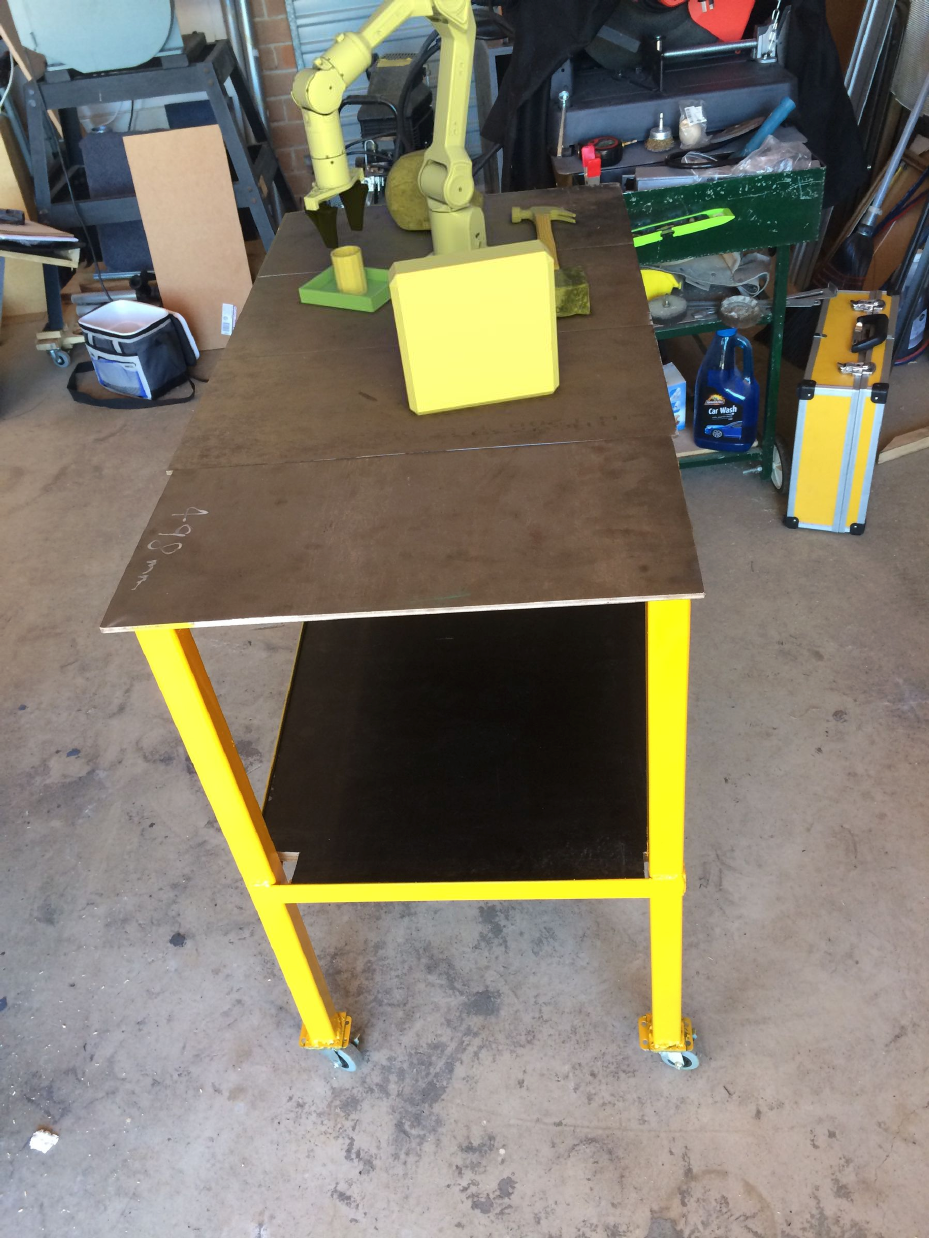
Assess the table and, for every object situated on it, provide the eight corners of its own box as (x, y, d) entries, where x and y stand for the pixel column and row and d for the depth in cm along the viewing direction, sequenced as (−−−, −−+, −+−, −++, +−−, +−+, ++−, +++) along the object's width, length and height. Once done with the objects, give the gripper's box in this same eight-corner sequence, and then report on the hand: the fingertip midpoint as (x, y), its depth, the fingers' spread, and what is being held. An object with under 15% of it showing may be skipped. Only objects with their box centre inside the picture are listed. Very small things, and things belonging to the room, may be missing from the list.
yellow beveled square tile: (550, 371, 136) (543, 231, 123) (561, 397, 130) (555, 253, 117) (407, 393, 136) (384, 256, 122) (412, 421, 130) (388, 280, 116)
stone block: (496, 303, 155) (493, 272, 152) (582, 293, 155) (582, 261, 151) (499, 326, 149) (496, 294, 145) (590, 315, 148) (589, 283, 145)
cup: (373, 286, 165) (366, 247, 160) (357, 299, 162) (349, 259, 157) (349, 283, 167) (341, 244, 162) (332, 296, 164) (324, 256, 159)
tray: (407, 285, 165) (405, 271, 163) (373, 312, 158) (370, 298, 156) (337, 277, 171) (334, 263, 170) (301, 302, 164) (298, 288, 163)
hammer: (585, 278, 160) (573, 216, 183) (586, 261, 159) (573, 201, 181) (516, 281, 161) (511, 219, 183) (515, 265, 159) (511, 204, 181)
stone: (386, 236, 184) (373, 155, 174) (396, 223, 189) (384, 143, 179) (479, 234, 179) (471, 150, 169) (487, 220, 184) (479, 138, 174)
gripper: (333, 138, 157) (349, 221, 166) (281, 167, 148) (301, 253, 157) (368, 140, 154) (382, 224, 163) (317, 169, 145) (335, 257, 154)
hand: (344, 238), depth 160 cm, fingers open, 7 cm apart
